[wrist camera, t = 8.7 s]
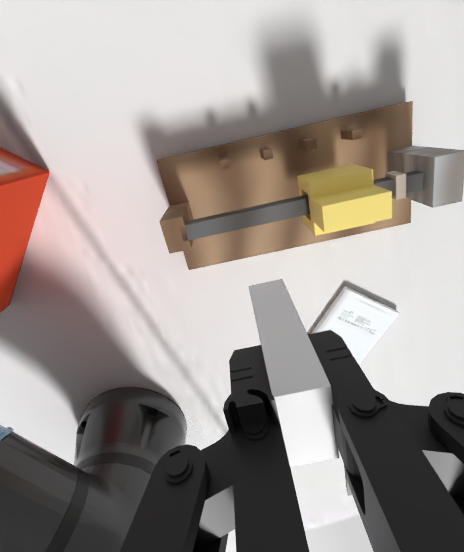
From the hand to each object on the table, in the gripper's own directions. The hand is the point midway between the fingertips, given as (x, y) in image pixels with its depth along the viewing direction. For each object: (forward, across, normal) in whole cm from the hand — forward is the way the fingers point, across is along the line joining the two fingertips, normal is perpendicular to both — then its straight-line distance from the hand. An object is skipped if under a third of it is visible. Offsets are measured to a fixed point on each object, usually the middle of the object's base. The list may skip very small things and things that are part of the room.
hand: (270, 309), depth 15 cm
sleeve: (+18, +8, 0) cm, 20 cm away
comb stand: (+23, +6, 0) cm, 23 cm away
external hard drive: (+24, +10, -20) cm, 32 cm away
